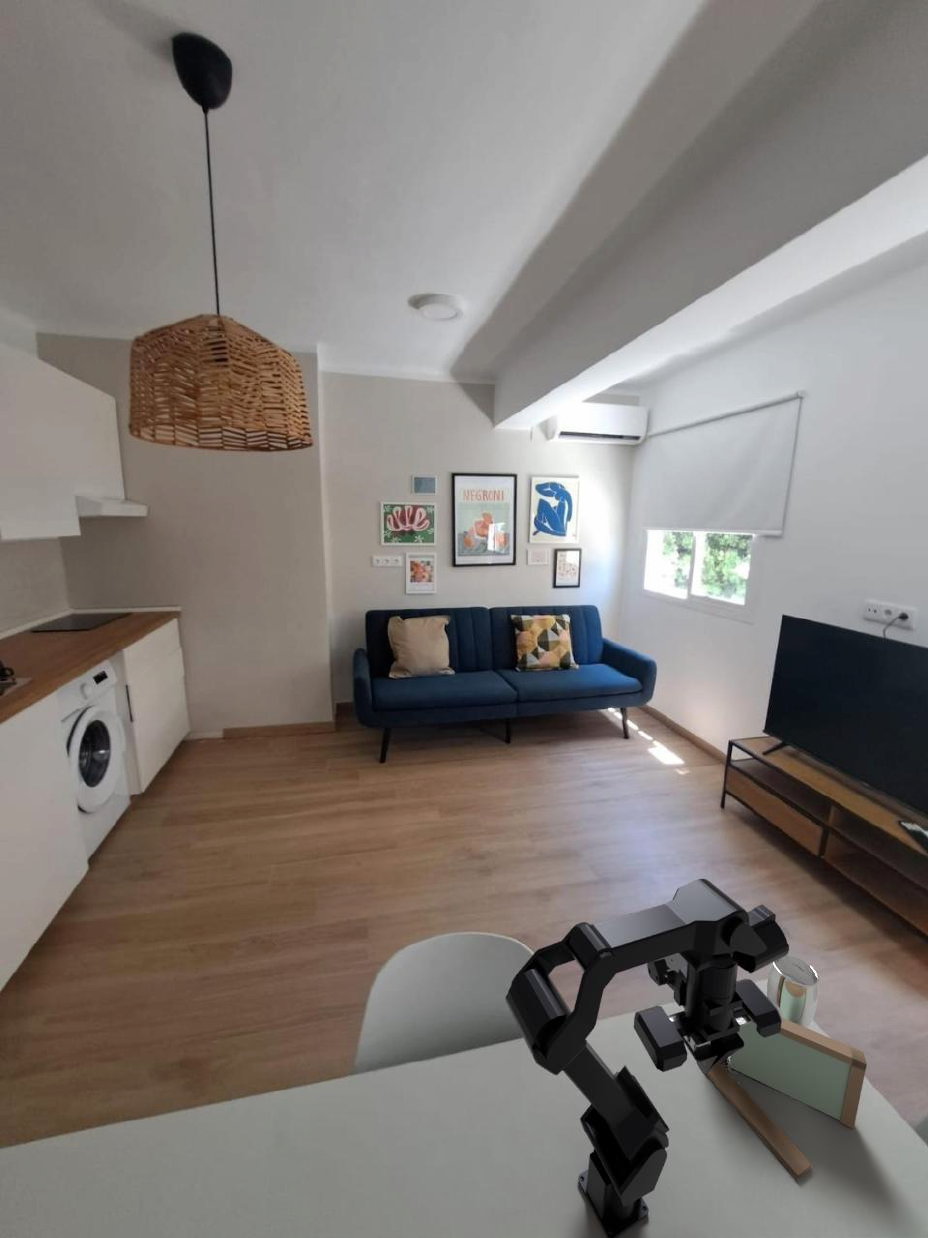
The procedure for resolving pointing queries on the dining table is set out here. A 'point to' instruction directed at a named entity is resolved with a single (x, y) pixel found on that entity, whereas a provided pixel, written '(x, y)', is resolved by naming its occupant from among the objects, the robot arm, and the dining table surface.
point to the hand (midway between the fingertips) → (703, 1069)
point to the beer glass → (793, 989)
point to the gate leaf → (804, 1067)
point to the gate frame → (760, 1122)
